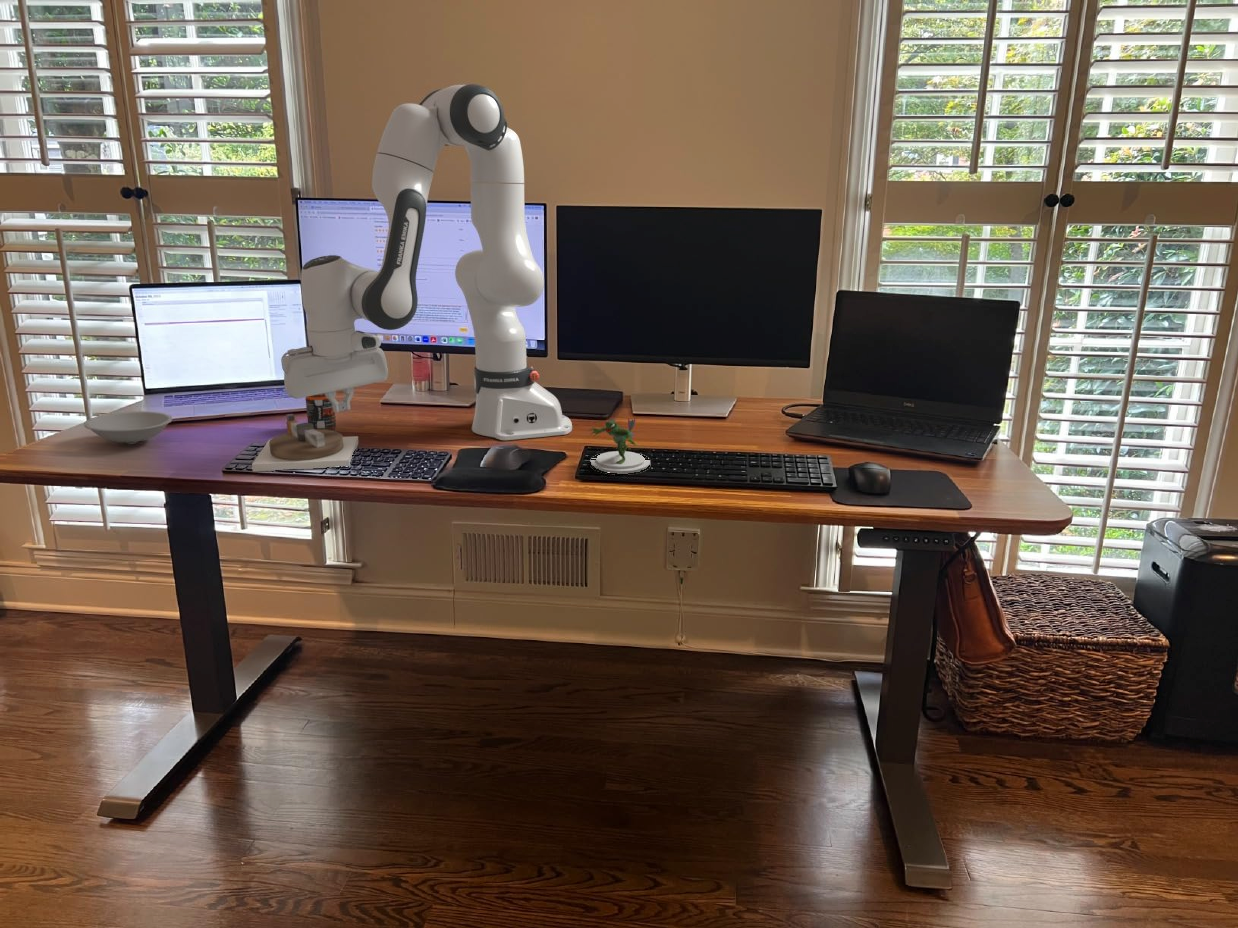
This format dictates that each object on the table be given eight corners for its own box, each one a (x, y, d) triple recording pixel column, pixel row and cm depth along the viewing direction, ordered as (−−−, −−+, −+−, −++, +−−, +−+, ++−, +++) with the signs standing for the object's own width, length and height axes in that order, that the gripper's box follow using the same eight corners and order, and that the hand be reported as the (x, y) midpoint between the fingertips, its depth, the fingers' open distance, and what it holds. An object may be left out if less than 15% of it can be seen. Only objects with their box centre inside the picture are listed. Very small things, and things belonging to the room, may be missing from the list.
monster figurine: (577, 465, 175) (577, 415, 172) (617, 451, 184) (617, 404, 181) (623, 479, 168) (624, 427, 165) (662, 464, 177) (663, 414, 173)
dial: (356, 449, 178) (353, 425, 177) (289, 464, 169) (286, 439, 167) (323, 434, 188) (321, 411, 186) (258, 448, 178) (255, 424, 177)
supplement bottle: (328, 434, 194) (323, 383, 190) (303, 432, 195) (297, 382, 191) (341, 426, 199) (336, 377, 196) (317, 424, 200) (312, 376, 197)
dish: (191, 436, 192) (188, 413, 190) (145, 456, 178) (141, 433, 177) (120, 430, 195) (116, 409, 193) (70, 450, 181) (65, 427, 180)
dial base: (358, 443, 188) (355, 411, 185) (349, 467, 173) (346, 433, 171) (269, 446, 185) (265, 414, 183) (252, 471, 170) (248, 437, 168)
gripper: (286, 353, 162) (297, 425, 167) (387, 336, 174) (395, 403, 179) (273, 348, 166) (284, 418, 171) (373, 332, 179) (380, 397, 184)
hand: (341, 411), depth 175 cm, fingers closed
